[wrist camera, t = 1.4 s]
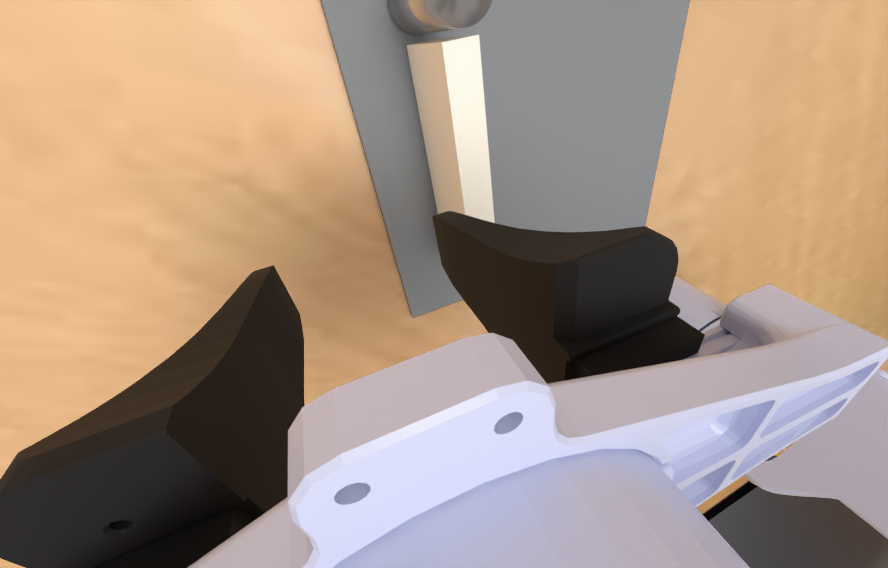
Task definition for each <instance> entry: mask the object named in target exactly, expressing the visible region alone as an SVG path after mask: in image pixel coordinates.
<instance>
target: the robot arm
mask: <svg viewBox="0 0 888 568" xmlns="http://www.w3.org/2000/svg"><path fill="white" fill-rule="evenodd" d="M432 218H433V223H434V228H435V233H436V238H437V243H438V248H439V253H440V258H441V264H442V267H443V268H444V270H445V272H446V274H447V276H448V278H449V279H450V281H451V283H452V285H453V286H454V288H455V289H456V290H457V292H458V293H459V294H460V295H461V297H462V298H463V299H464V301H465V302H466V303H467V305H468V306H469V307H470V308H471V310H472V311H473V312H474V314H475V315H476V316H477V318H478V319H479V320H480V321H481V323H482V324H483V325H484V327H485V328H486V330H487V331H488V334H482V335H477V336H471V337H465V338H462V339H459V340H457V341H454V342H452V343H449V344H446V345H444V346H441V347H439V348H436V349H434V350H431V351H428V352H426V353H423V354H421V355H418V356H416V357H413V358H410V359H408V360H405V361H403V362H400V363H398V364H395V365H392V366H390V367H387V368H385V369H382V370H380V371H377V372H374V373H372V374H369V375H367V376H364V377H362V378H359V379H356V380H354V381H351V382H349V383H346V384H344V385H341V386H338V387H336V388H333V389H332V390H330V391H328V392H327V393H325V394H323V395H322V396H320V397H319V398H317V399H315V400H314V401H312V402H310V403H309V404H307V405H306V406H304V337H303V330H302V324H301V319H300V314H299V312H298V310H297V308H296V306H295V304H294V303H293V301H292V299H291V297H290V295H289V293H288V291H287V290H286V288H285V286H284V284H283V282H282V280H281V278H280V277H279V275H278V273H277V271H276V269H275V267H274V265H273V266H270V267H267V268H264V269H260V270H257V271H254V272H253V273H251V274H250V275H249V276H248V277H247V278H246V280H245V281H244V282H243V283H242V284H241V285H240V286H239V288H238V289H237V290H236V291H235V292H234V294H233V295H232V296H231V297H230V298H229V299H228V300H227V302H226V303H225V304H224V305H223V306H222V307H221V308H220V310H219V311H218V312H217V313H216V314H215V315H214V316H213V317H212V318H211V319H210V320H209V321H208V322H207V323H206V324H205V325H204V326H203V327H202V329H201V330H199V331H198V332H197V333H196V334H195V335H194V336H193V337H192V338H191V339H190V340H189V341H188V342H187V343H185V344H184V345H183V346H182V347H181V348H180V349H179V350H177V351H176V352H175V353H174V354H173V355H171V356H170V357H169V358H168V359H166V360H165V361H164V362H162V363H161V364H160V365H158V366H157V367H156V368H154V369H153V370H152V371H150V372H149V373H148V374H146V375H145V376H144V377H142V378H141V379H140V380H138V381H137V382H136V383H134V384H133V385H131V386H130V387H128V388H127V389H125V390H124V391H122V392H121V393H119V394H118V395H116V396H115V397H113V398H112V399H110V400H109V401H107V402H105V403H104V404H102V405H101V406H99V407H98V408H96V409H94V410H93V411H91V412H89V413H88V414H86V415H84V416H83V417H81V418H80V419H78V420H76V421H74V422H72V423H71V424H69V425H67V426H65V427H64V428H62V429H60V430H58V431H56V432H55V433H53V434H51V435H49V436H48V437H46V438H44V439H42V440H41V441H39V442H37V443H35V444H33V445H32V446H30V447H28V448H26V449H24V450H22V451H20V452H19V453H18V454H17V455H16V457H15V458H14V460H13V461H12V463H11V464H10V466H9V467H8V469H7V470H6V472H5V473H4V475H3V476H2V478H1V479H0V558H1V559H4V560H7V561H9V562H12V563H15V564H17V565H20V566H23V567H26V568H749V567H748V565H747V564H746V563H745V562H744V561H743V560H742V559H741V558H740V556H739V555H738V554H737V553H736V552H735V551H734V550H733V549H732V547H731V546H730V545H729V544H728V543H727V542H726V541H725V540H724V539H723V538H722V536H721V535H720V534H719V533H718V532H717V531H716V530H715V529H714V527H713V526H712V525H711V524H710V523H709V522H708V521H707V519H706V518H705V517H704V516H703V515H702V514H701V513H700V512H699V511H698V509H697V508H696V507H697V506H699V505H700V504H702V503H703V502H705V501H706V500H708V499H709V498H711V497H712V496H714V495H715V494H716V493H718V492H719V491H721V490H722V489H724V488H725V487H727V486H728V485H730V484H731V483H733V482H734V481H736V480H737V479H739V478H740V477H742V476H743V475H744V476H745V477H746V478H747V479H748V480H750V481H751V482H752V483H753V484H755V485H757V486H759V487H760V488H762V489H764V490H767V491H770V492H773V493H778V494H784V495H794V496H808V497H822V498H833V499H838V500H840V501H841V502H842V503H844V504H845V505H846V506H847V507H849V508H850V509H851V510H852V511H854V512H855V513H856V514H857V515H859V516H860V517H861V518H862V519H864V520H865V521H866V522H867V523H869V524H870V525H871V526H872V527H874V528H875V529H876V530H877V531H879V532H880V533H881V534H882V535H884V536H885V537H886V538H887V539H888V373H887V372H885V371H883V370H881V369H879V367H880V366H881V365H882V364H883V363H884V362H885V360H886V359H887V358H888V341H886V340H884V339H882V338H880V337H878V336H876V335H874V334H872V333H870V332H868V331H866V330H863V329H861V328H859V327H857V326H855V325H853V324H851V323H849V322H847V321H845V320H843V319H841V318H839V317H836V316H834V315H832V314H830V313H828V312H826V311H824V310H822V309H820V308H818V307H816V306H814V305H812V304H809V303H807V302H805V301H803V300H801V299H799V298H797V297H795V296H793V295H791V294H789V293H787V292H785V291H782V290H780V289H778V288H776V287H774V286H772V285H770V284H769V285H764V286H762V287H759V288H757V289H755V290H753V291H750V292H748V293H746V294H743V295H741V296H739V297H737V298H735V299H734V300H732V301H731V302H730V303H729V304H728V305H726V304H724V303H722V302H721V301H719V300H717V299H715V298H714V297H712V296H710V295H708V294H707V293H705V292H703V291H701V290H700V289H698V288H696V287H694V286H693V285H691V284H689V283H688V282H686V281H684V280H682V279H681V278H679V277H677V276H675V275H676V272H677V266H678V253H677V247H676V246H675V244H674V243H673V241H672V240H670V239H669V238H667V237H665V236H663V235H661V234H659V233H657V232H655V231H653V230H651V229H649V228H647V227H645V226H641V227H632V228H624V229H616V230H608V231H592V232H549V231H537V230H529V229H521V228H515V227H510V226H505V225H501V224H496V223H492V222H488V221H485V220H481V219H478V218H474V217H471V216H468V215H464V214H461V213H457V212H453V211H447V212H443V213H440V214H437V215H434V216H432ZM798 439H799V440H798ZM797 440H798V441H797ZM795 441H796V442H795ZM793 442H795V443H794V444H793V445H792V446H790V447H789V448H788V449H787V450H786V451H785V452H783V453H782V454H781V455H780V456H773V455H775V454H776V453H778V452H779V451H781V450H782V449H784V448H785V447H787V446H789V445H790V444H792V443H793Z"/></svg>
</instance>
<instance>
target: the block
mask: <svg viewBox="0 0 888 568" xmlns="http://www.w3.org/2000/svg"><path fill="white" fill-rule="evenodd" d="M406 46H407V51H408V57H409V62H410V67H411V73H412V78H413V84H414V89H415V94H416V100H417V105H418V110H419V116H420V121H421V127H422V132H423V137H424V143H425V148H426V153H427V159H428V164H429V169H430V175H431V180H432V186H433V191H434V196H435V202H436V207H437V212H438V214H440V213H443V212H447V211H453V212H457V213H461V214H464V215H468V216H471V217H474V218H478V219H481V220H485V221H488V222H492V223H495V221H494V209H493V197H492V185H491V173H490V161H489V149H488V136H487V124H486V112H485V100H484V88H483V76H482V64H481V52H480V40H479V35H470V36H460V37H450V38H440V39H433V40H428V41H423V42H419V43H414V44H409V45H406Z"/></svg>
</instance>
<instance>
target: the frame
mask: <svg viewBox="0 0 888 568" xmlns="http://www.w3.org/2000/svg"><path fill="white" fill-rule="evenodd" d="M492 1H493V0H387V8H388V12H389V15H390V17H391V19H392V21H393V23H394V24H395V25H396V27H397V28H398V29H399V30H401V31H402V32H404V33H406V34H409V35H419V34H426V33H433V32H440V31H446V30H453V29H460V28H467V27H470V26H473V25H475V24H476V23H478V22H479V21H480V20H481V19H482V18H483V17H484V16H485V15H486V13H487V12H488V10H489V8H490V6H491V3H492Z"/></svg>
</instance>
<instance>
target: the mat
mask: <svg viewBox="0 0 888 568" xmlns="http://www.w3.org/2000/svg"><path fill="white" fill-rule="evenodd" d="M321 3H322V7H323V10H324V14H325V17H326V20H327V24H328V27H329V31H330V34H331V38H332V41H333V45H334V48H335V52H336V55H337V59H338V62H339V66H340V69H341V73H342V76H343V79H344V83H345V86H346V90H347V93H348V97H349V100H350V104H351V107H352V111H353V114H354V118H355V121H356V125H357V128H358V132H359V135H360V138H361V142H362V145H363V149H364V152H365V156H366V159H367V163H368V166H369V170H370V173H371V177H372V180H373V184H374V187H375V190H376V194H377V197H378V201H379V204H380V208H381V211H382V215H383V218H384V222H385V225H386V229H387V232H388V236H389V239H390V243H391V246H392V249H393V253H394V256H395V260H396V263H397V267H398V270H399V274H400V277H401V281H402V284H403V288H404V291H405V295H406V298H407V302H408V305H409V308H410V312H411V315H412V317H413V318H415V317H417V316H420V315H423V314H425V313H428V312H431V311H434V310H436V309H439V308H442V307H445V306H447V305H450V304H453V303H455V302H458V301H461V300H464V299H463V298H462V297H461V295H460V294H459V293H458V292H457V290H456V289H455V288H454V286H453V285H452V283H451V281H450V279H449V278H448V276H447V274H446V272H445V270H444V268H443V267H442V264H441V258H440V253H439V248H438V243H437V238H436V233H435V228H434V223H433V218H432V216H434V215H437V214H438V212H437V207H436V202H435V196H434V191H433V186H432V180H431V175H430V169H429V164H428V159H427V153H426V148H425V143H424V137H423V132H422V127H421V121H420V116H419V110H418V105H417V100H416V94H415V89H414V84H413V78H412V73H411V67H410V62H409V57H408V51H407V46H406V45H409V44H414V43H419V42H423V41H428V40H433V39H440V38H450V37H460V36H470V35H479V40H480V52H481V64H482V76H483V88H484V100H485V112H486V124H487V136H488V149H489V161H490V173H491V185H492V197H493V209H494V221H495V223H496V224H501V225H505V226H510V227H515V228H521V229H529V230H537V231H549V232H592V231H608V230H616V229H624V228H632V227H641V226H645V224H646V219H647V214H648V209H649V204H650V199H651V194H652V189H653V184H654V179H655V174H656V169H657V164H658V159H659V154H660V149H661V144H662V139H663V134H664V129H665V124H666V119H667V114H668V109H669V104H670V99H671V94H672V88H673V83H674V78H675V73H676V68H677V63H678V58H679V53H680V48H681V43H682V38H683V33H684V28H685V23H686V18H687V13H688V8H689V3H690V0H493V1H492V3H491V6H490V8H489V10H488V12H487V13H486V15H485V16H484V17H483V18H482V19H481V20H480V21H479V22H478V23H476V24H475V25H473V26H470V27H467V28H460V29H453V30H446V31H440V32H433V33H426V34H419V35H409V34H406V33H404V32H402V31H401V30H399V29H398V28H397V27H396V25H395V24H394V23H393V21H392V19H391V17H390V15H389V12H388V8H387V0H321Z"/></svg>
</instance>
